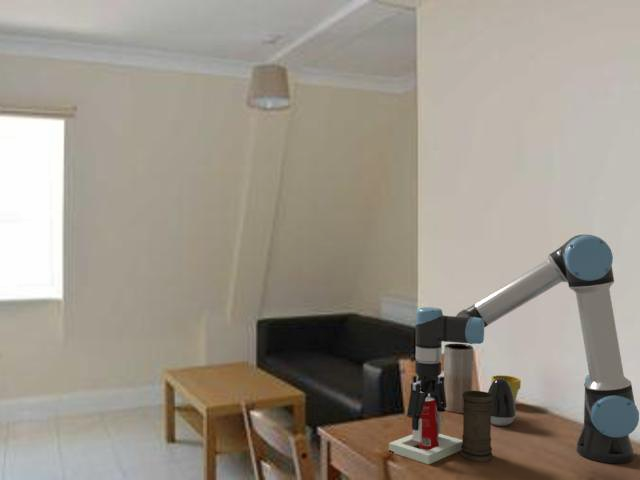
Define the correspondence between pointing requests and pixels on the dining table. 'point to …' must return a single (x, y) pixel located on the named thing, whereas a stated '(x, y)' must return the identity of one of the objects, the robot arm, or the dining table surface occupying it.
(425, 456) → the socket block
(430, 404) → the beverage can
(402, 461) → the dining table surface
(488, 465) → the dining table surface
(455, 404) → the planter
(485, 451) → the container
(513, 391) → the plant pot
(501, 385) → the dark grey domed cylinder
